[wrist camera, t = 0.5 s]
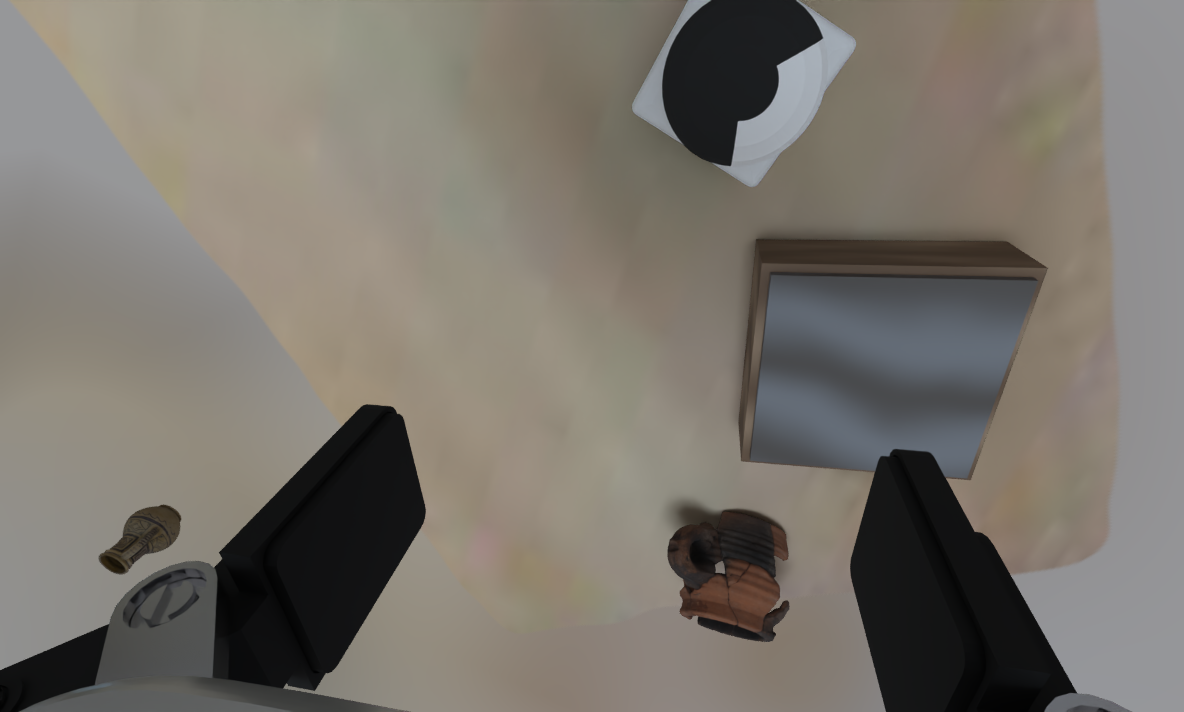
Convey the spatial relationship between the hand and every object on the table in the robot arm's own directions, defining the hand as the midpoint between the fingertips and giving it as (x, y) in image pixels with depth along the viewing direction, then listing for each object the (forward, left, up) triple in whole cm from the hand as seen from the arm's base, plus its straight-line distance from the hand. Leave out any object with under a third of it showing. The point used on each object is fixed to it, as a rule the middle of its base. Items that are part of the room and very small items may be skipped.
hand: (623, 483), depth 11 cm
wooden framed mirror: (+10, +12, -27) cm, 31 cm away
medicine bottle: (-6, +3, -27) cm, 28 cm away
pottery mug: (+28, +5, -28) cm, 40 cm away
